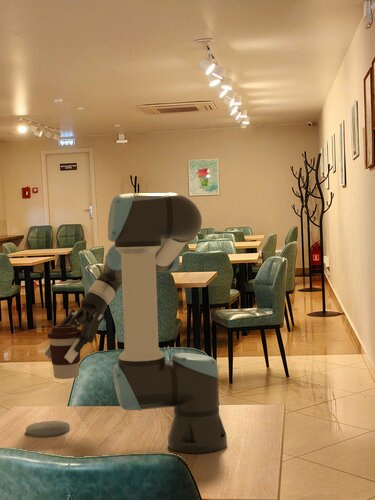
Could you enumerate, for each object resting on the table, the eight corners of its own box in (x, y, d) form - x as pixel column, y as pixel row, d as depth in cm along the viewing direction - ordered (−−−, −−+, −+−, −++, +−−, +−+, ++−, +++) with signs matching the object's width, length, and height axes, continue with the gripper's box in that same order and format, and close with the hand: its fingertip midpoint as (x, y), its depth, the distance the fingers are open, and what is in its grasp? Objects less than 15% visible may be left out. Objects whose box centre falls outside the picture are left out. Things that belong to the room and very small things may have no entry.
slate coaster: (75, 433, 202) (75, 428, 201) (32, 440, 196) (32, 435, 196) (62, 422, 212) (62, 418, 212) (21, 429, 207) (21, 424, 207)
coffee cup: (87, 373, 219) (85, 323, 219) (78, 380, 209) (76, 328, 209) (55, 373, 220) (53, 324, 220) (45, 380, 211) (42, 328, 210)
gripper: (128, 308, 217) (88, 370, 207) (82, 304, 233) (43, 361, 222) (114, 292, 213) (72, 354, 203) (68, 289, 229) (27, 347, 219)
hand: (57, 358), depth 213 cm, fingers closed on coffee cup, 10 cm apart
